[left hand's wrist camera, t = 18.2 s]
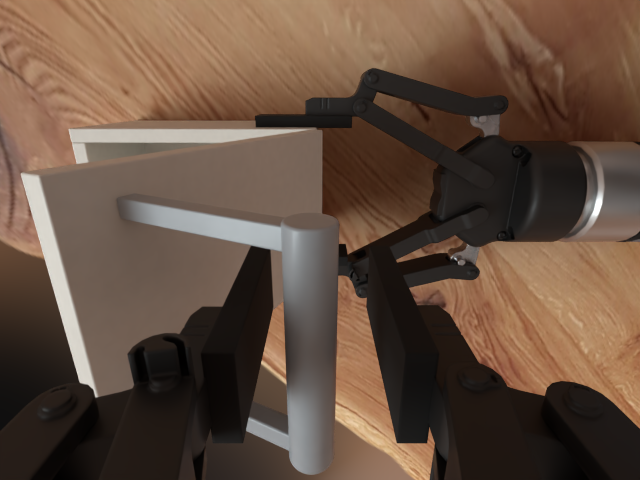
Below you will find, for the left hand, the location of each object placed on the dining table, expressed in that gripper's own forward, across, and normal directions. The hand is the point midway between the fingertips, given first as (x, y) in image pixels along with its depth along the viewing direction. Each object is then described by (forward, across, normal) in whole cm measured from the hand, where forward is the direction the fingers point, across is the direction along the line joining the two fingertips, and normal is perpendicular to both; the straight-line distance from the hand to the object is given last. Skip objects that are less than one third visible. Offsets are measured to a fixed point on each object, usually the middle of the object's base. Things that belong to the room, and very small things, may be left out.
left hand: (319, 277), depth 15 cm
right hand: (+14, -4, 0) cm, 15 cm away
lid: (+4, -4, 0) cm, 6 cm away
